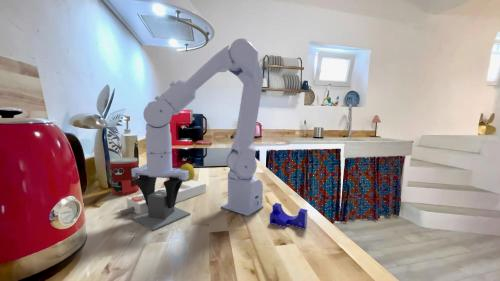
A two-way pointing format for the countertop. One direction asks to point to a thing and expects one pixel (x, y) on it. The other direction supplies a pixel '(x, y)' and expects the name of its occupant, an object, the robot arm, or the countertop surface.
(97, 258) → the countertop surface
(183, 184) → the strip
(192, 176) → the lemon
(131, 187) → the canned food
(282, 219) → the cable holder
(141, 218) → the mat
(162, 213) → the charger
